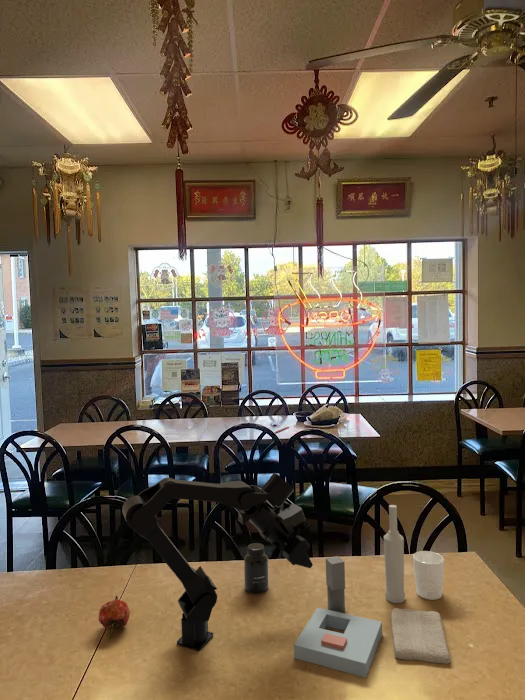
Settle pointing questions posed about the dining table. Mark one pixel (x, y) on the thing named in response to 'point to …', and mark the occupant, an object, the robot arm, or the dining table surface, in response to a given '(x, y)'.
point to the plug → (335, 583)
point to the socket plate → (339, 642)
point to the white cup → (428, 574)
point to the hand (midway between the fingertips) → (302, 559)
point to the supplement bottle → (256, 569)
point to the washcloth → (419, 636)
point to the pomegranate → (114, 614)
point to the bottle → (394, 560)
